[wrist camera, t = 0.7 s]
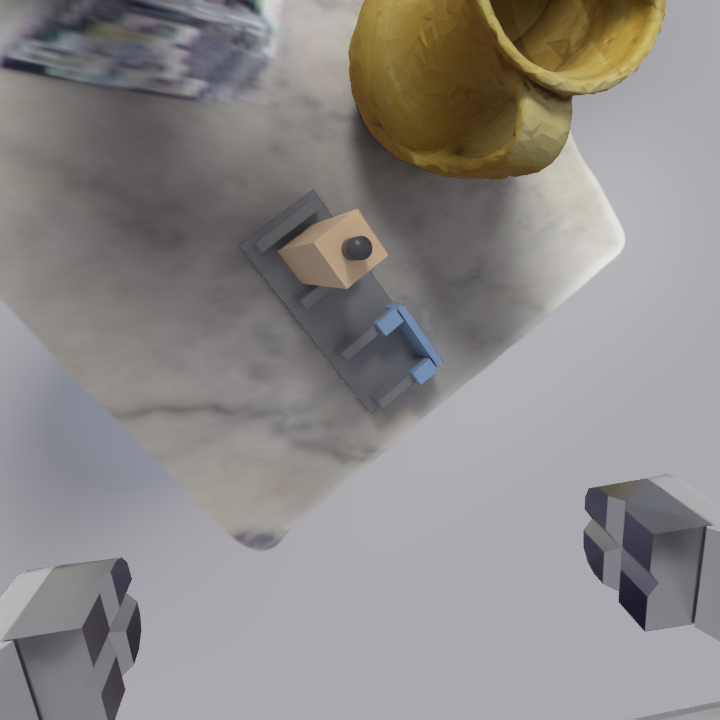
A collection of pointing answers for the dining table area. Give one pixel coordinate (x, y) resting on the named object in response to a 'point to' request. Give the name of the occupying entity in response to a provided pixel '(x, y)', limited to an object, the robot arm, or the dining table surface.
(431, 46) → the pitcher
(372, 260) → the plug
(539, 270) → the dining table surface
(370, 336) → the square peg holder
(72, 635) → the robot arm
